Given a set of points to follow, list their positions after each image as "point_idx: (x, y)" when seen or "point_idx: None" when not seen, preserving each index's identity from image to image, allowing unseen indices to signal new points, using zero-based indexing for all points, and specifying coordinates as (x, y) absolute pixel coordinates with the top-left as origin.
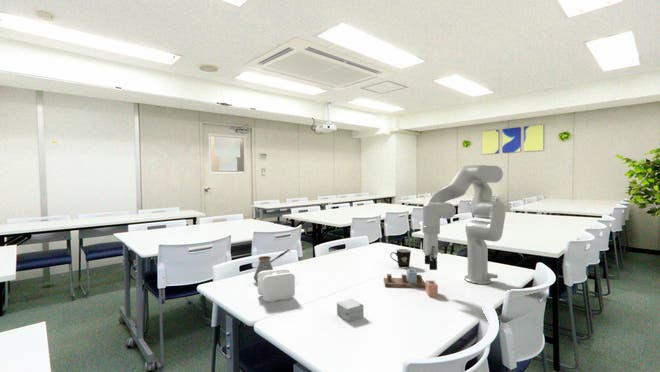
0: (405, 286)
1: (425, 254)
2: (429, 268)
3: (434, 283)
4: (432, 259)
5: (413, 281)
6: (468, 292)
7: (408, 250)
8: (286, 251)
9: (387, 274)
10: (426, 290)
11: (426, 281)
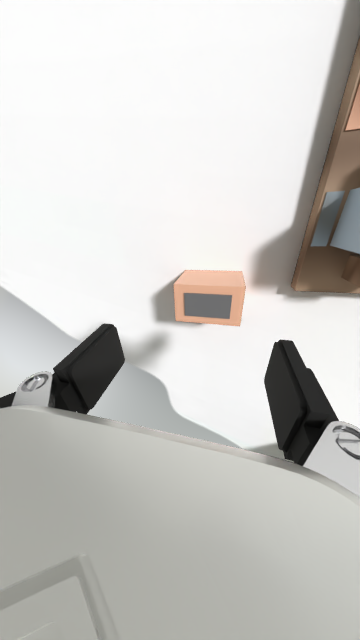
0: (325, 165)
1: (327, 437)
2: (105, 325)
3: (191, 314)
4: (9, 394)
5: (343, 225)
6: (229, 390)
7: None
8: None
9: None
10: (223, 273)
11: (226, 287)
